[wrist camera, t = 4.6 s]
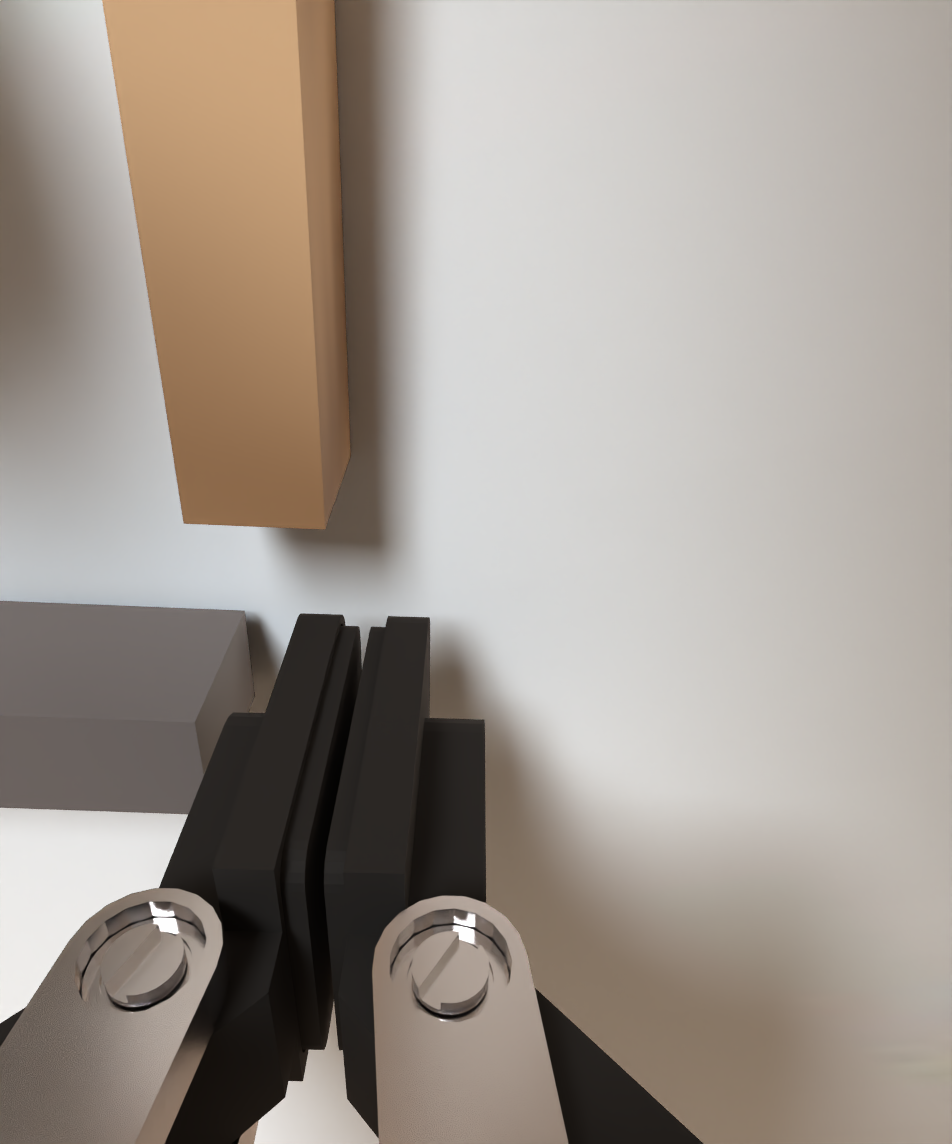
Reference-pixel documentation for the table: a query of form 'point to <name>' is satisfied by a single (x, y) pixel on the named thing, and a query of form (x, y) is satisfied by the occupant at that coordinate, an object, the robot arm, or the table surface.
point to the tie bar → (115, 703)
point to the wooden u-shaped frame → (241, 247)
